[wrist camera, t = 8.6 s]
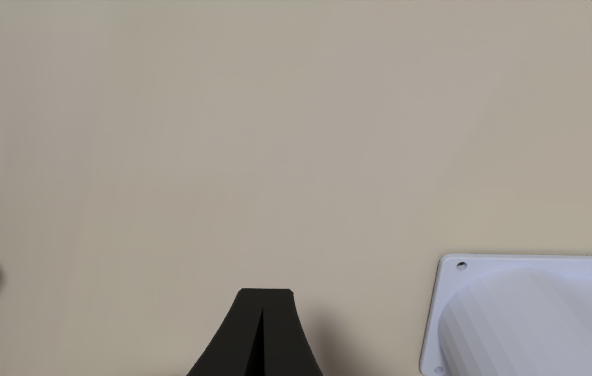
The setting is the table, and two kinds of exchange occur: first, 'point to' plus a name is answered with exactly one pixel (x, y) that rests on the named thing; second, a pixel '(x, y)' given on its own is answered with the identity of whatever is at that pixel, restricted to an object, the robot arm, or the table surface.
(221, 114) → the table surface
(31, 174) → the table surface
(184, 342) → the table surface
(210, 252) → the table surface
